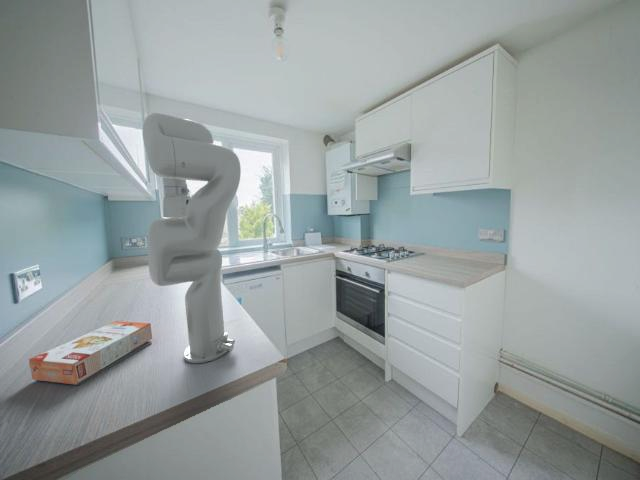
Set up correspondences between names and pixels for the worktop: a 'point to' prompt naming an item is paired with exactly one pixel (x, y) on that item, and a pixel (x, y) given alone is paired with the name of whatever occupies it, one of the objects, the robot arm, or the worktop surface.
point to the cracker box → (89, 352)
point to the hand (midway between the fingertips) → (181, 241)
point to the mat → (118, 360)
